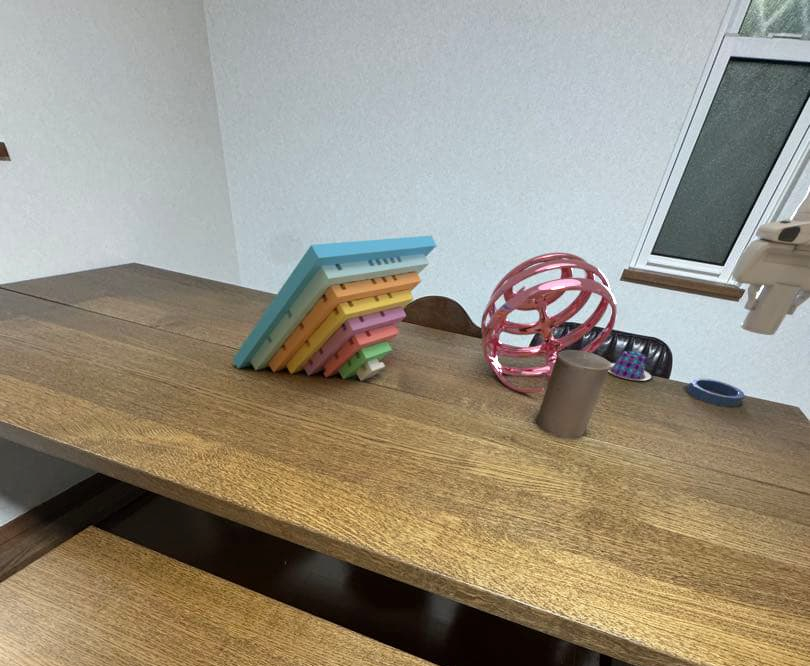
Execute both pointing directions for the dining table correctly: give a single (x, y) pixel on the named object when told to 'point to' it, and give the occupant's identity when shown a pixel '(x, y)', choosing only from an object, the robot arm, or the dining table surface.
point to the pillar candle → (572, 393)
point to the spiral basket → (543, 313)
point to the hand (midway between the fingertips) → (767, 311)
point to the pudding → (631, 366)
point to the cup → (770, 309)
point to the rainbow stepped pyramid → (338, 308)
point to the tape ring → (730, 400)
